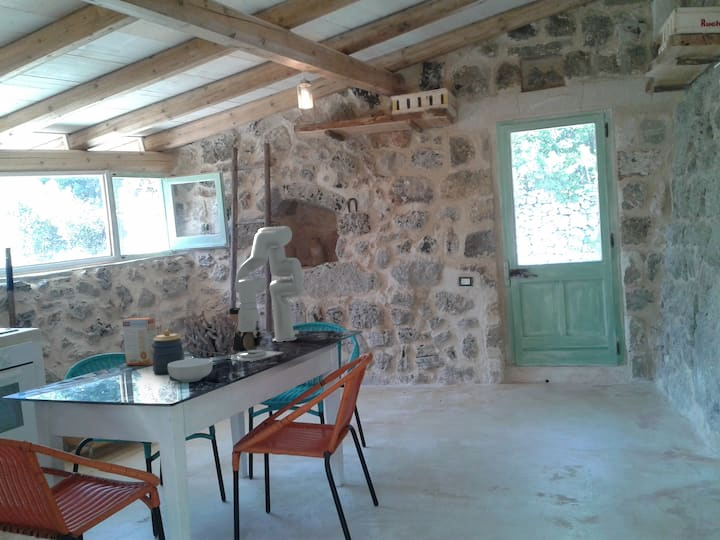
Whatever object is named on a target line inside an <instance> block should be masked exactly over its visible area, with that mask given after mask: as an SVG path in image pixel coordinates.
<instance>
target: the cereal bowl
mask: <svg viewBox="0 0 720 540" xmlns="http://www.w3.org/2000/svg"><path fill="white" fill-rule="evenodd" d="M212 370H213V360H212V359H210V358H187V359H185V360H179V361H174V362H171V363H169V364H168V372H169V374H168V375H169V376H170V377H172V378H173V379H174V380H177V381H179V382H180V383H196V382H198V381H202V379H203V378H205V377H208V375H210V374H211V372H212Z"/></svg>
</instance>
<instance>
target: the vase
mask: <svg viewBox="0 0 720 540" xmlns="http://www.w3.org/2000/svg"><path fill="white" fill-rule="evenodd" d="M254 338H255V336H254V334H253V332H247V333H246V335H245V336H244V339H243V344H244V347H245V348H246V349H245V350H246V351H248V350H257V349H258V348H259V346H254Z"/></svg>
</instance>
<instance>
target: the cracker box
mask: <svg viewBox="0 0 720 540" xmlns="http://www.w3.org/2000/svg"><path fill="white" fill-rule="evenodd" d="M155 319H156V318H155V317H129V318H124V319H122V327H123V328H122V330H123V331H122V332H123V343H124V354H125V365H126V366H146V367H147V366H149V367H150V366H153V355H152V353H153V347H152V346H151V345H152V344H153V343H154V341H153V339H154V338H156V336H157V331H156V322H155V321H156V320H155Z"/></svg>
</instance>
